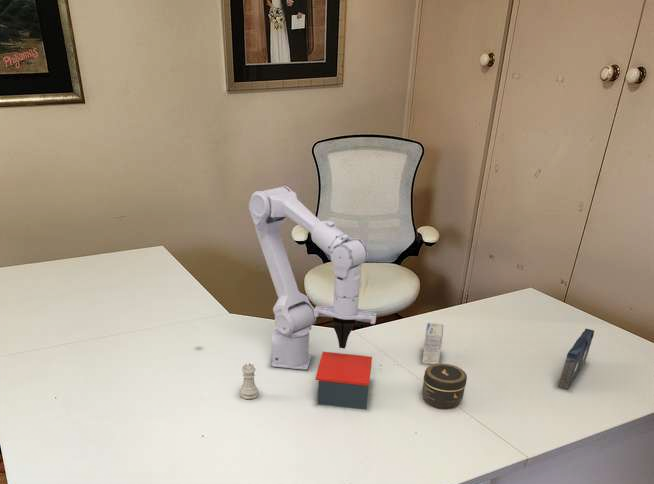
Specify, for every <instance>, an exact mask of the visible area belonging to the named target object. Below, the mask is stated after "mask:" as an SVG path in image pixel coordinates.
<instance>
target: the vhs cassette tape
mask: <svg viewBox="0 0 654 484" xmlns="http://www.w3.org/2000/svg"><path fill="white" fill-rule="evenodd" d="M594 335H595V330H594V329H590V328H585V329H584V331H583V332H582V333H581V335H580V336H579V337H578V338H577V339H576V341H575V343H574V344H573V345H572V347H571V348H570V349H569V351H567V353H566V358H565V362H564V365H563V368H562V372H561V376H560V379H559V383H558V388H560V389H564V390H569V389H570V387H571V386H572V384H573V383H574V381H575V379H576V378H577V376H578V375H579V373H580V372H581V371H582V368H583V367H584V366H585V364H586V362H587V361H586V360H587V358H588V355H589V351H590V349H591V348H590V347H591V344H592V342H593V341H592V340H593V339H594Z"/></svg>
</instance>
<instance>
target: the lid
mask: <svg viewBox="0 0 654 484" xmlns="http://www.w3.org/2000/svg"><path fill="white" fill-rule="evenodd" d="M372 362H373V356H370V355H359V354H351V353H340V352H332V351H331V352H330V351H322V352H321V356H320V359H319V362H318V367H317V371H316V375H315V378H314V379H315V381H316V382H317V381H318V382H319V381H327V382H336V383H345V384H354V385H364V386H369V387H370V383H369V380H370V381H371V374H370V372H371V371H372V364H373V363H372ZM371 363H372V364H371Z"/></svg>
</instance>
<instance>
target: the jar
mask: <svg viewBox="0 0 654 484" xmlns="http://www.w3.org/2000/svg"><path fill="white" fill-rule="evenodd" d="M467 381H468V376H467V373H466V371H465V370H463V369H462V368H460V367H459V366H457V365H454V364H450V363H439V364H430V365H429V366H427V367H426V368H425V370H424V374H423V383H422V389H421V395H422V399H423V401H424V402H425V403H426V405H428V406H430V407H432V408H434V409H439V410H452V409H455V408H457V407H458V406H459V405H460V404H461V402H462V400H463V398H464V394H465V389H466V386H467Z"/></svg>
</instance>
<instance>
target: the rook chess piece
mask: <svg viewBox="0 0 654 484" xmlns="http://www.w3.org/2000/svg"><path fill="white" fill-rule="evenodd" d="M256 370H257V369H256V368H255V365H254V364H251V363H245V364H243V365H242V367H241V372H242V373H243V374H242V377H243V380H242V381H243V382H242V385H241V386H240V388H239V396H240V397H241V398H242V399H244V400H250V401H251V400H254V399H256V398H257V397H258V396H259V389H258V387H257V385H256V383H255V376H256V375H255V372H256Z"/></svg>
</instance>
